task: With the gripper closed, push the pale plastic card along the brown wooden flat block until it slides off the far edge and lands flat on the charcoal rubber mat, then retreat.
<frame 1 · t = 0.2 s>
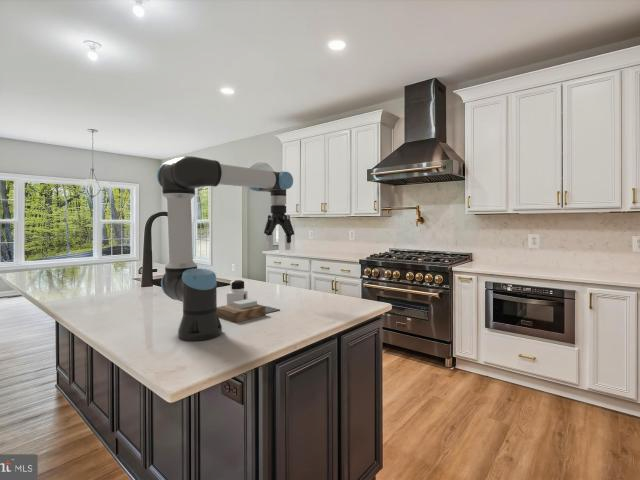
hand: (278, 249, 174), 28 cm above the countertop, fingers open, 13 cm apart
mat: (264, 310, 166), on the countertop
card: (244, 306, 158), point 4 cm above the countertop, touching brown wooden flat block
container: (237, 308, 172), on the countertop
brown wooden flat block: (240, 315, 157), on the countertop
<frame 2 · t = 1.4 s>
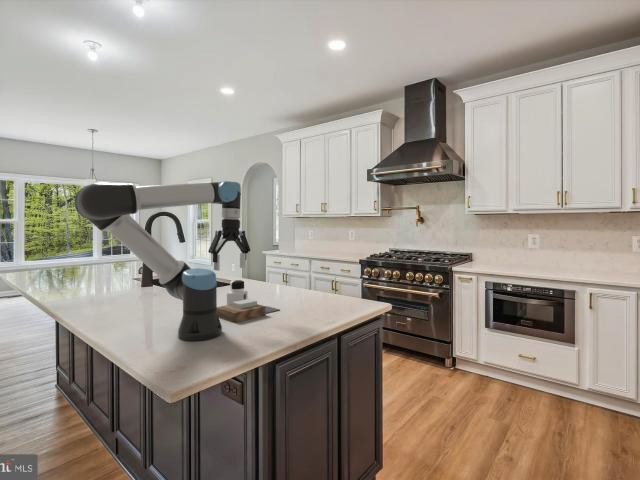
hand: (230, 269, 152), 21 cm above the countertop, fingers open, 13 cm apart
nothing on the countertop moved.
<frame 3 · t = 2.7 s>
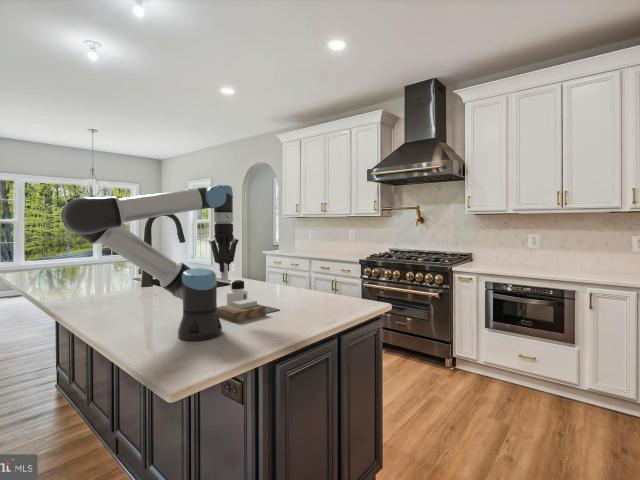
hand: (224, 279, 150), 17 cm above the countertop, fingers closed
nothing on the countertop moved.
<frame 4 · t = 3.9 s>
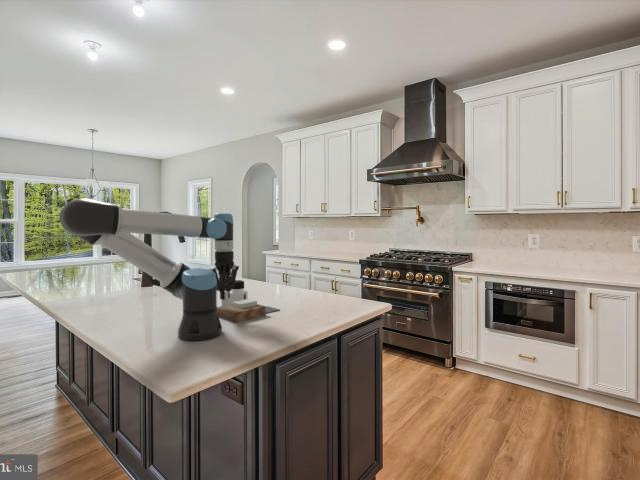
hand: (225, 306, 151), 5 cm above the countertop, fingers closed
nothing on the countertop moved.
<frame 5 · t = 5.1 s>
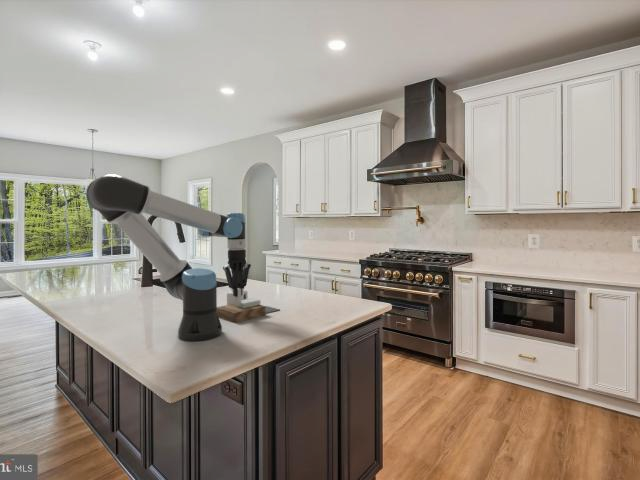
hand: (238, 303, 156), 6 cm above the countertop, fingers closed
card: (248, 305, 160), point 4 cm above the countertop, touching gripper
everything else where it was.
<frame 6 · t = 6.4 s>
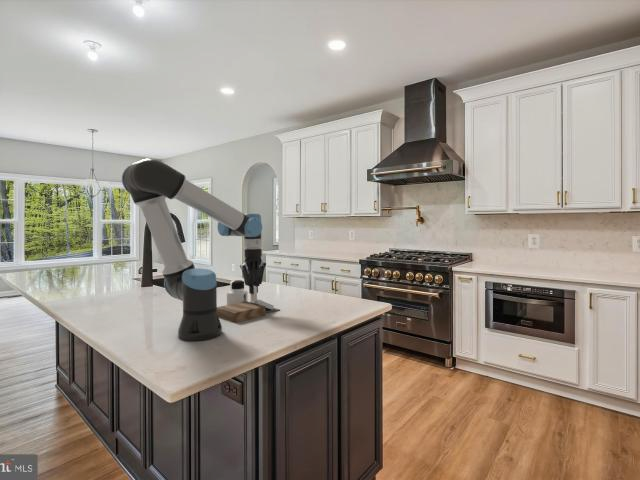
hand: (253, 300, 162), 6 cm above the countertop, fingers closed
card: (261, 305, 165), point 2 cm above the countertop, tilted 26°, touching mat
everything else where it was.
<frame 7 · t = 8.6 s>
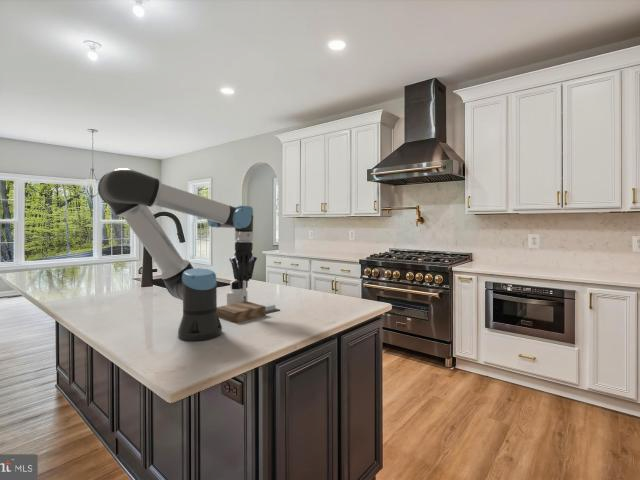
hand: (242, 295, 157), 9 cm above the countertop, fingers closed
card: (263, 309, 166), resting on mat
everything else where it was.
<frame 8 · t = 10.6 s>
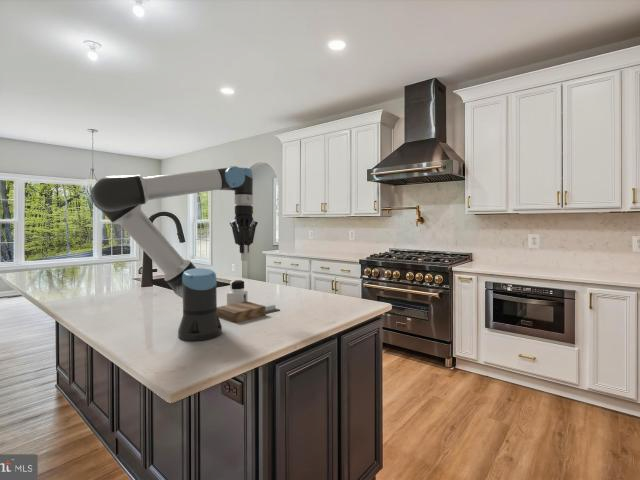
hand: (244, 260, 154), 24 cm above the countertop, fingers closed
nothing on the countertop moved.
at the end: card resting on mat; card inside the target area on the mat (0.7 cm from its centre), point 0.4 cm above the mat's base; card tilted 0° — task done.
